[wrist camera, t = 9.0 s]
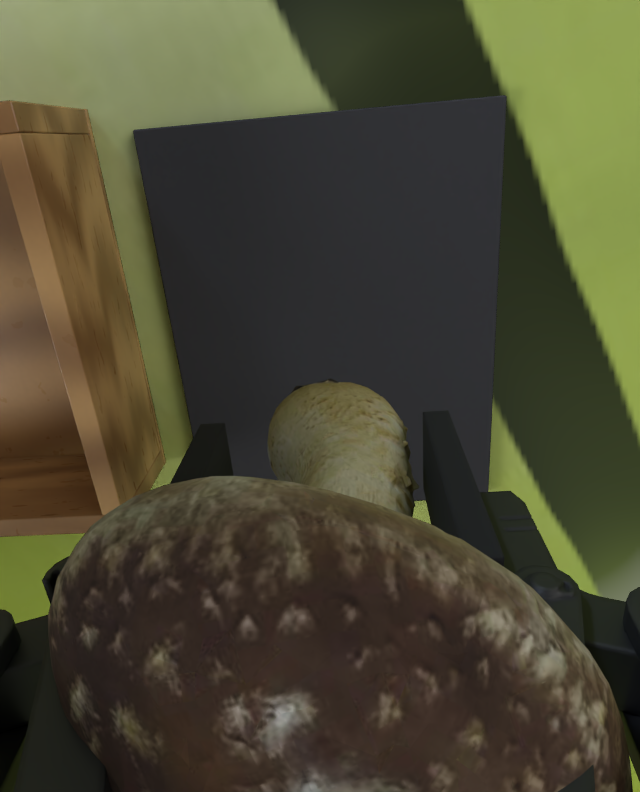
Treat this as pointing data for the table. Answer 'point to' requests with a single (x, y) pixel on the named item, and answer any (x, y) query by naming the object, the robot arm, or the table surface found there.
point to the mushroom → (319, 634)
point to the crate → (65, 335)
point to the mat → (333, 264)
